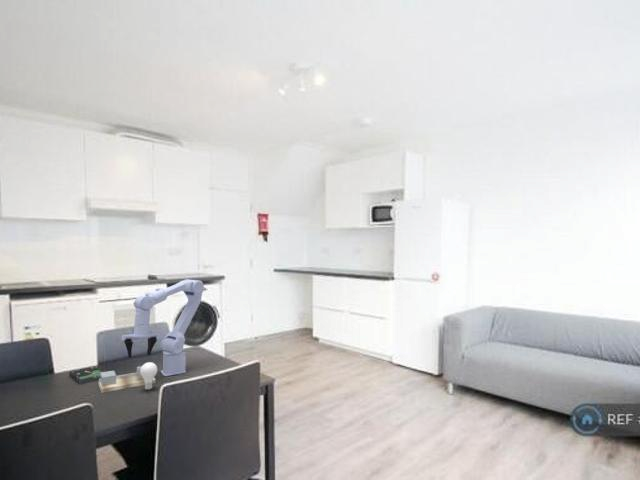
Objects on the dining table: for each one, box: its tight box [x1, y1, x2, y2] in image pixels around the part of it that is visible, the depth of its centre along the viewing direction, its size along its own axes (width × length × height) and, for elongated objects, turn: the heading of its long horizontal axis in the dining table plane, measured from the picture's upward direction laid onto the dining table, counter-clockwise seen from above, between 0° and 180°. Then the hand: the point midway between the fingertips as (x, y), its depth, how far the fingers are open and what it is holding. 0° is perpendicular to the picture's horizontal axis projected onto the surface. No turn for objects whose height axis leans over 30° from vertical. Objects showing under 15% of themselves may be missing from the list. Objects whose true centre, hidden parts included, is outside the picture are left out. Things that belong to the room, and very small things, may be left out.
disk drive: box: [68, 365, 103, 385], centre depth 168 cm, size 10×3×15 cm
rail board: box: [98, 365, 156, 394], centre depth 161 cm, size 20×11×5 cm, turn 125°
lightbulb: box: [140, 361, 158, 391], centre depth 155 cm, size 6×6×11 cm
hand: (139, 356), depth 163 cm, fingers open, 7 cm apart
